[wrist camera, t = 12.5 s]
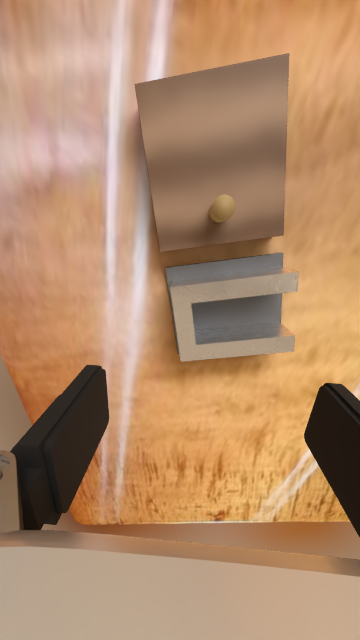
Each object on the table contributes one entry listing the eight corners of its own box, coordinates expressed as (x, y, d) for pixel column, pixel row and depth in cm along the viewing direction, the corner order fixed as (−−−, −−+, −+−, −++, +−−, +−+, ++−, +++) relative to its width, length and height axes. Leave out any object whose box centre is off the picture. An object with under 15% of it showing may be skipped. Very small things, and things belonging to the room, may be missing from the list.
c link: (280, 266, 26) (298, 271, 21) (278, 335, 29) (293, 351, 25) (173, 279, 27) (169, 287, 23) (181, 344, 30) (180, 361, 26)
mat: (278, 342, 30) (280, 344, 29) (178, 352, 31) (178, 354, 30) (281, 252, 26) (283, 252, 25) (165, 267, 27) (165, 267, 26)
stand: (272, 236, 25) (299, 234, 19) (163, 250, 26) (155, 253, 20) (275, 79, 20) (312, 10, 14) (141, 104, 21) (123, 50, 15)
